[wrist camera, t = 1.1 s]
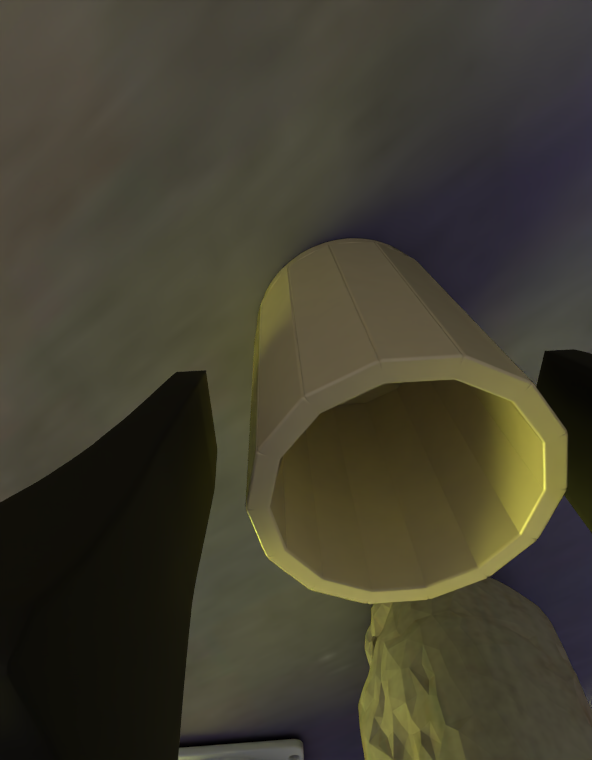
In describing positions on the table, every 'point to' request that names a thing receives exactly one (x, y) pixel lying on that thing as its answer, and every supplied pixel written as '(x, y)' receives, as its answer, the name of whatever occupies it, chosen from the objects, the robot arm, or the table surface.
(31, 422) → the table surface
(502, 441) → the cup
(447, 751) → the stone
